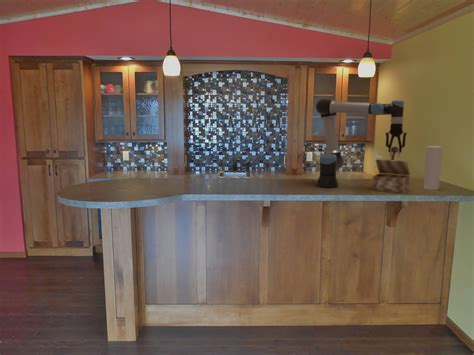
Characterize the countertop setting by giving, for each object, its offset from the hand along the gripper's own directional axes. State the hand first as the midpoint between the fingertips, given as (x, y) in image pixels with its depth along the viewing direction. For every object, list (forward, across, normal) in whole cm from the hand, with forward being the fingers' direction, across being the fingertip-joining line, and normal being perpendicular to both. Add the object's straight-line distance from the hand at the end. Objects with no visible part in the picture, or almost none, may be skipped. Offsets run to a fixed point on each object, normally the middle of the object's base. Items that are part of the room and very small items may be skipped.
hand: (394, 157), depth 241 cm
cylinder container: (+23, +22, +15) cm, 35 cm away
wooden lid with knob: (+7, 0, -4) cm, 8 cm away
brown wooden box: (+22, 0, -6) cm, 23 cm away
